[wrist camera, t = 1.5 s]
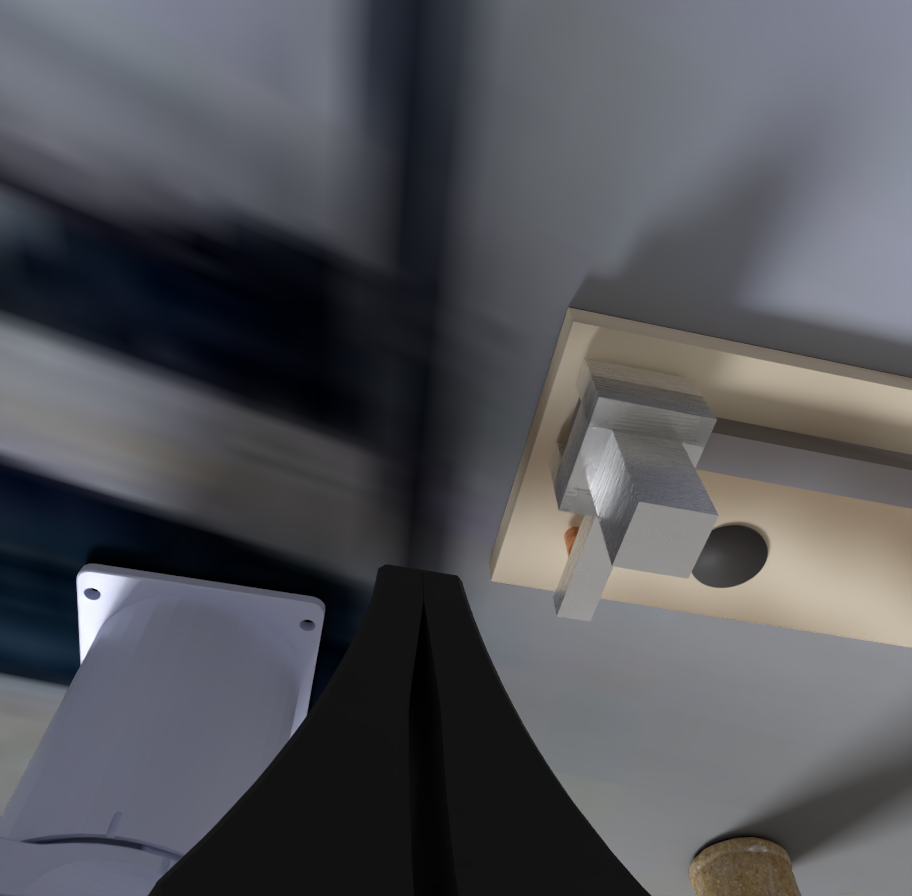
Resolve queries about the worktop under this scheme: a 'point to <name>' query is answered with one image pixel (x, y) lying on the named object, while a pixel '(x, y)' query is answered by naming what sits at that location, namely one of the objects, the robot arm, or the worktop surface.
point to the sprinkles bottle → (743, 869)
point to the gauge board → (747, 484)
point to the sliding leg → (631, 480)
